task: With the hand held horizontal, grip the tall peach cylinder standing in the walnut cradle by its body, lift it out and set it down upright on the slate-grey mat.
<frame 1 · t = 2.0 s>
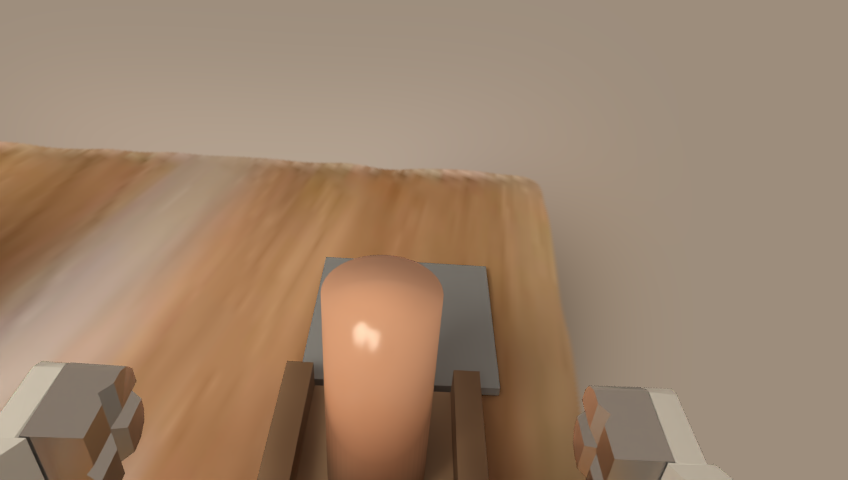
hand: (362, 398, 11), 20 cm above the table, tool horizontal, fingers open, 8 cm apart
cradle: (375, 477, 33), on the table
tall peach cylinder: (376, 470, 33), point 1 cm above the table, touching cradle
mat: (403, 322, 43), on the table
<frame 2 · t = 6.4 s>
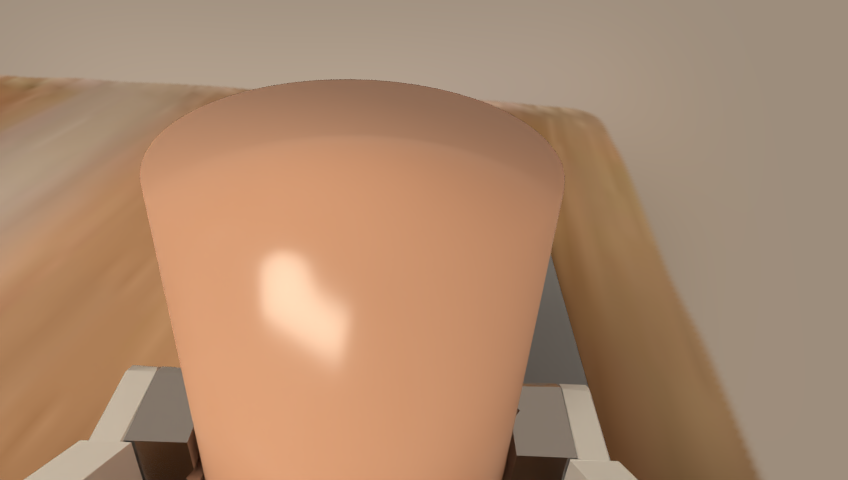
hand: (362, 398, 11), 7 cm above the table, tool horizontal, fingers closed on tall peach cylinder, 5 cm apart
mat: (410, 306, 25), on the table
when the fingers open (8 cm above the table, at t = 10.8 s): tall peach cylinder stays where it is, resting on mat.
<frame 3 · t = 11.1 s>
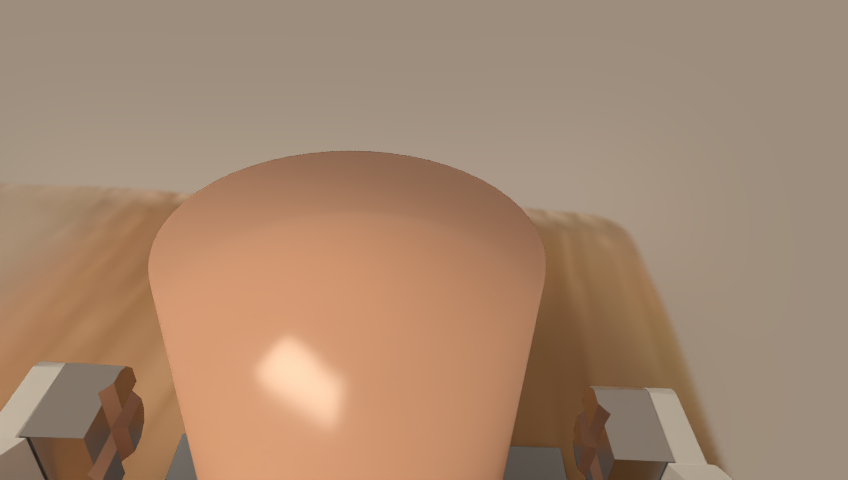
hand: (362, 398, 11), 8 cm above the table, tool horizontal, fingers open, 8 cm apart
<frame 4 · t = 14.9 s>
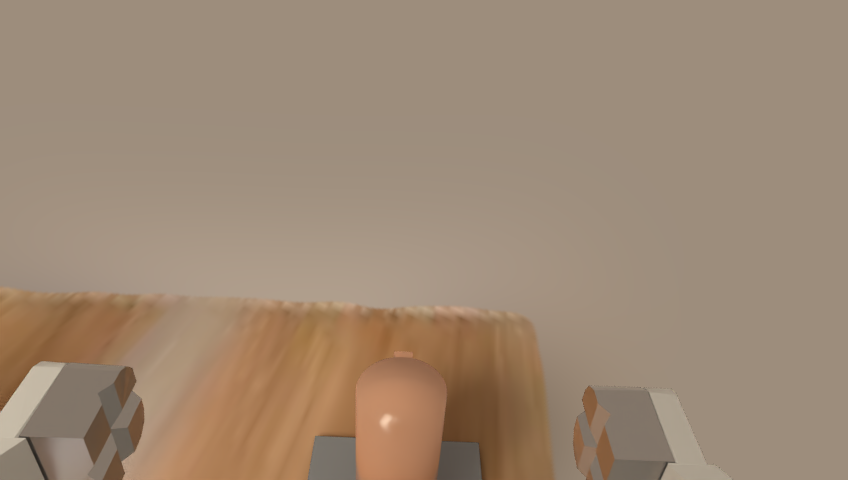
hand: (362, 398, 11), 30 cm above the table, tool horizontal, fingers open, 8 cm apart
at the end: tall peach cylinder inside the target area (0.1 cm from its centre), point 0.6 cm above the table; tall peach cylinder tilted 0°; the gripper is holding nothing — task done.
